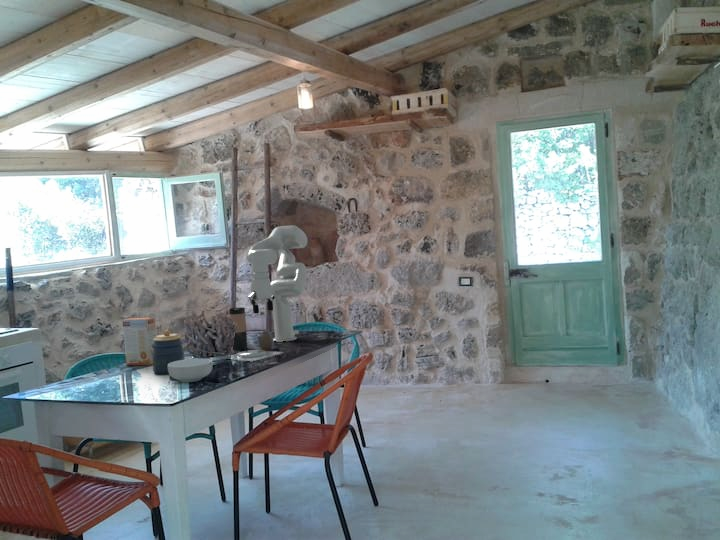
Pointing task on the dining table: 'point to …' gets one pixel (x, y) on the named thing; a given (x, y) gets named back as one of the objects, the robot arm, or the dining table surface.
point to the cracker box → (139, 340)
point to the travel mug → (239, 328)
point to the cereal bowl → (190, 369)
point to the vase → (265, 341)
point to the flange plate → (253, 355)
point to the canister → (166, 351)
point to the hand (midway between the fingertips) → (263, 311)
